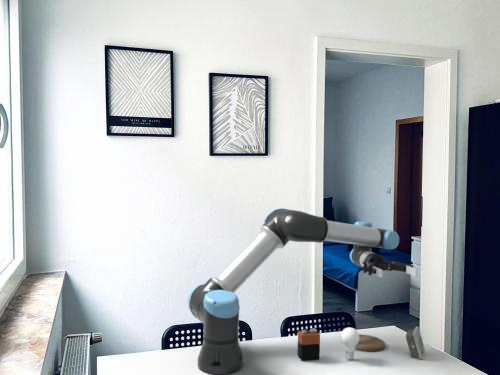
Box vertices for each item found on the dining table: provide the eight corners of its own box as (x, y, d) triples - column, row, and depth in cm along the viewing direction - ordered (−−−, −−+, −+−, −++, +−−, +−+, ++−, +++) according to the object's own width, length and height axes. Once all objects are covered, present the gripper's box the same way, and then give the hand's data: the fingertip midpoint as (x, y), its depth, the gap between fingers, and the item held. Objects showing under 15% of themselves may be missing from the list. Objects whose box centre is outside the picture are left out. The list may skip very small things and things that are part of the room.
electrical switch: (422, 361, 147) (420, 334, 148) (406, 359, 150) (404, 332, 150) (425, 352, 156) (423, 326, 156) (410, 350, 158) (408, 325, 158)
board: (336, 342, 163) (336, 339, 163) (361, 334, 172) (361, 331, 172) (368, 355, 151) (368, 352, 151) (393, 346, 160) (393, 343, 160)
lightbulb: (359, 364, 144) (360, 331, 144) (340, 362, 145) (341, 330, 145) (358, 356, 150) (359, 325, 150) (340, 355, 151) (340, 324, 151)
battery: (320, 360, 146) (320, 331, 146) (301, 361, 145) (301, 332, 145) (315, 355, 151) (316, 326, 151) (297, 356, 149) (297, 328, 149)
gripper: (400, 270, 176) (430, 282, 155) (343, 272, 172) (366, 284, 151) (400, 252, 176) (431, 262, 155) (343, 253, 172) (366, 263, 151)
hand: (399, 273), depth 153 cm, fingers open, 13 cm apart
